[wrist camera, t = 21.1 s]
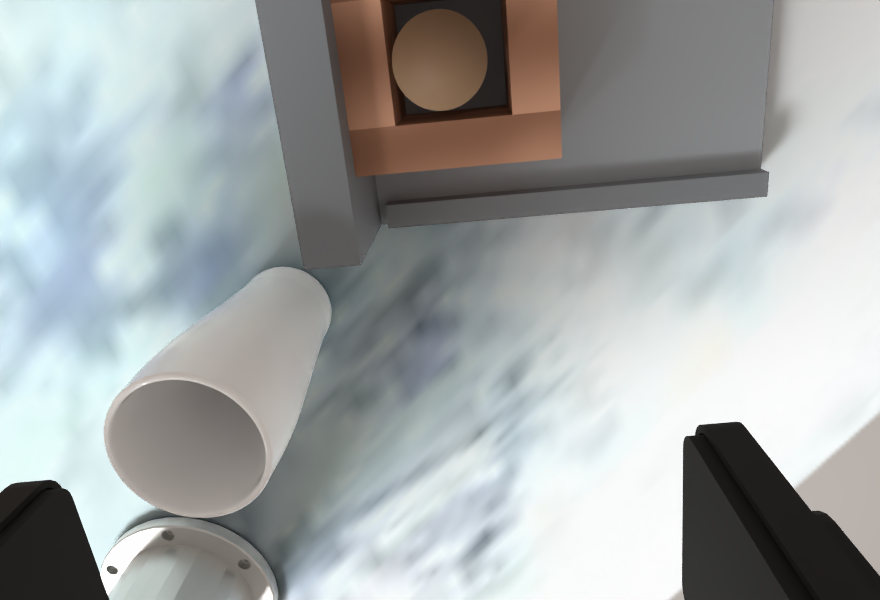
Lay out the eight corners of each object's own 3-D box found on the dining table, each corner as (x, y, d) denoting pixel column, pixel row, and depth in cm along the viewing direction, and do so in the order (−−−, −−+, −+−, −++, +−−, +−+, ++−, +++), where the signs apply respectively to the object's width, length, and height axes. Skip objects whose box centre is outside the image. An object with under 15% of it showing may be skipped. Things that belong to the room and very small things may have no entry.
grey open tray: (743, 184, 35) (828, 227, 27) (342, 218, 37) (304, 269, 28) (768, -168, 29) (885, -253, 21) (292, -108, 31) (225, -164, 23)
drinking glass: (327, 240, 37) (239, 356, 23) (359, 345, 40) (297, 507, 26) (217, 264, 38) (69, 390, 24) (255, 365, 41) (140, 533, 27)
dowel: (484, 85, 32) (491, 105, 21) (424, 91, 32) (398, 115, 21) (480, 19, 31) (483, 3, 20) (417, 26, 31) (386, 14, 20)
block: (549, 142, 33) (562, 158, 28) (372, 158, 33) (356, 176, 29) (541, -60, 29) (554, -80, 25) (345, -37, 30) (322, -53, 25)
